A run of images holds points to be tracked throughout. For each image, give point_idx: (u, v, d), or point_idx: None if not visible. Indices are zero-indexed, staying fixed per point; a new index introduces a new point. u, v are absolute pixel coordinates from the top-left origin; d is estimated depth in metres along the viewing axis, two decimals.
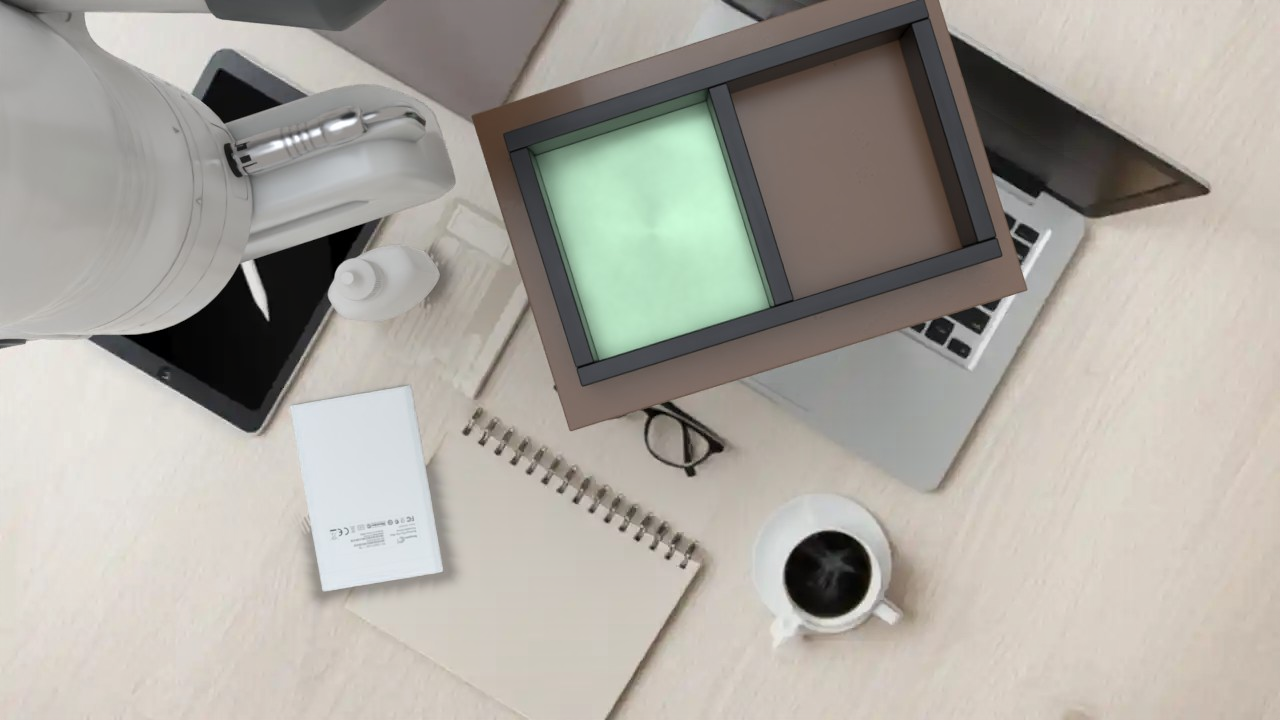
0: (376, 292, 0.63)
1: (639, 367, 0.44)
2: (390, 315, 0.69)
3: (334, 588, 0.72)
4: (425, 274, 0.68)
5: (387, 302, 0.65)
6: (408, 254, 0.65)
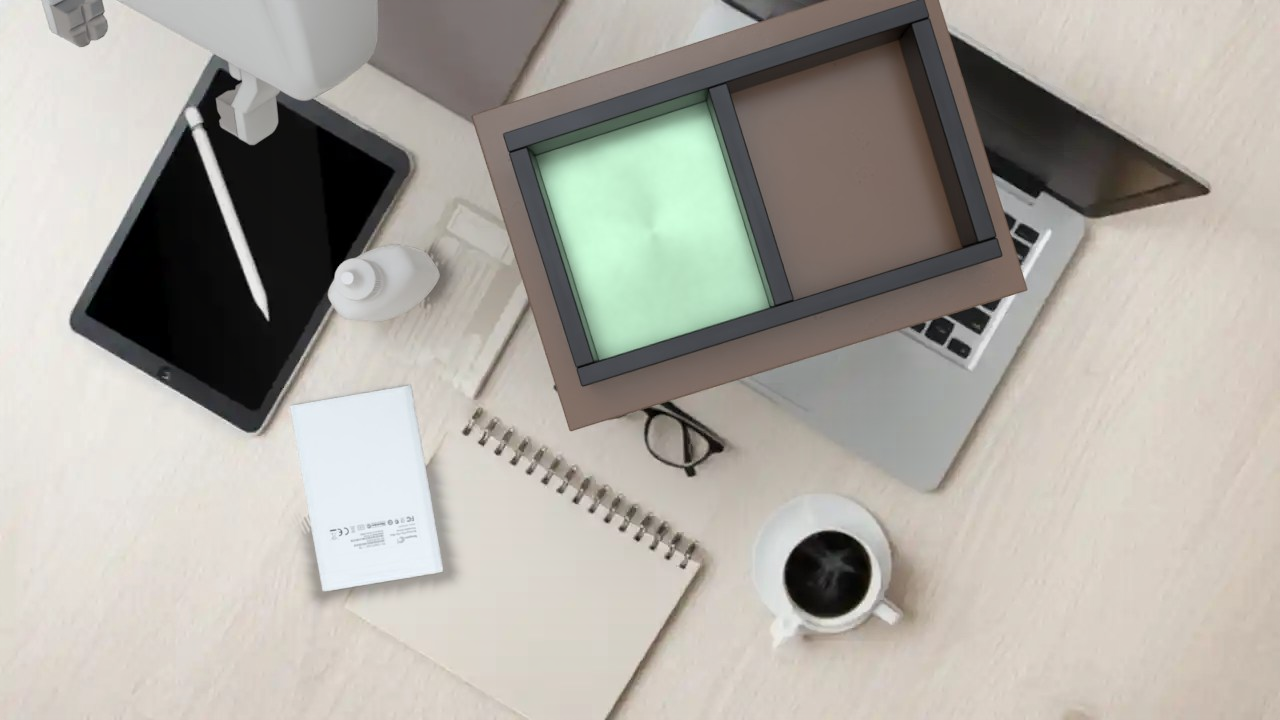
0: (376, 292, 0.63)
1: (639, 367, 0.44)
2: (390, 315, 0.69)
3: (334, 588, 0.72)
4: (425, 274, 0.68)
5: (387, 302, 0.65)
6: (408, 254, 0.65)
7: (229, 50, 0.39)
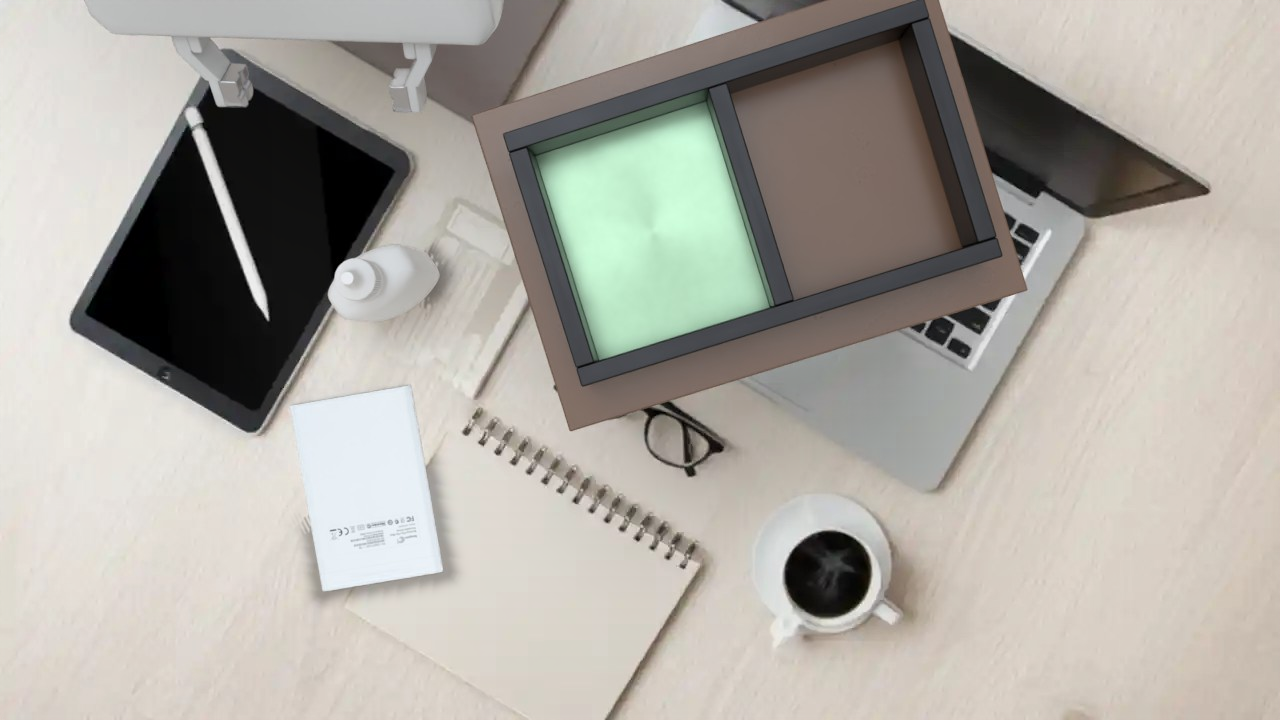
0: (376, 292, 0.63)
1: (639, 367, 0.44)
2: (390, 315, 0.69)
3: (334, 588, 0.72)
4: (425, 274, 0.68)
5: (387, 302, 0.65)
6: (408, 254, 0.65)
7: (416, 31, 0.53)
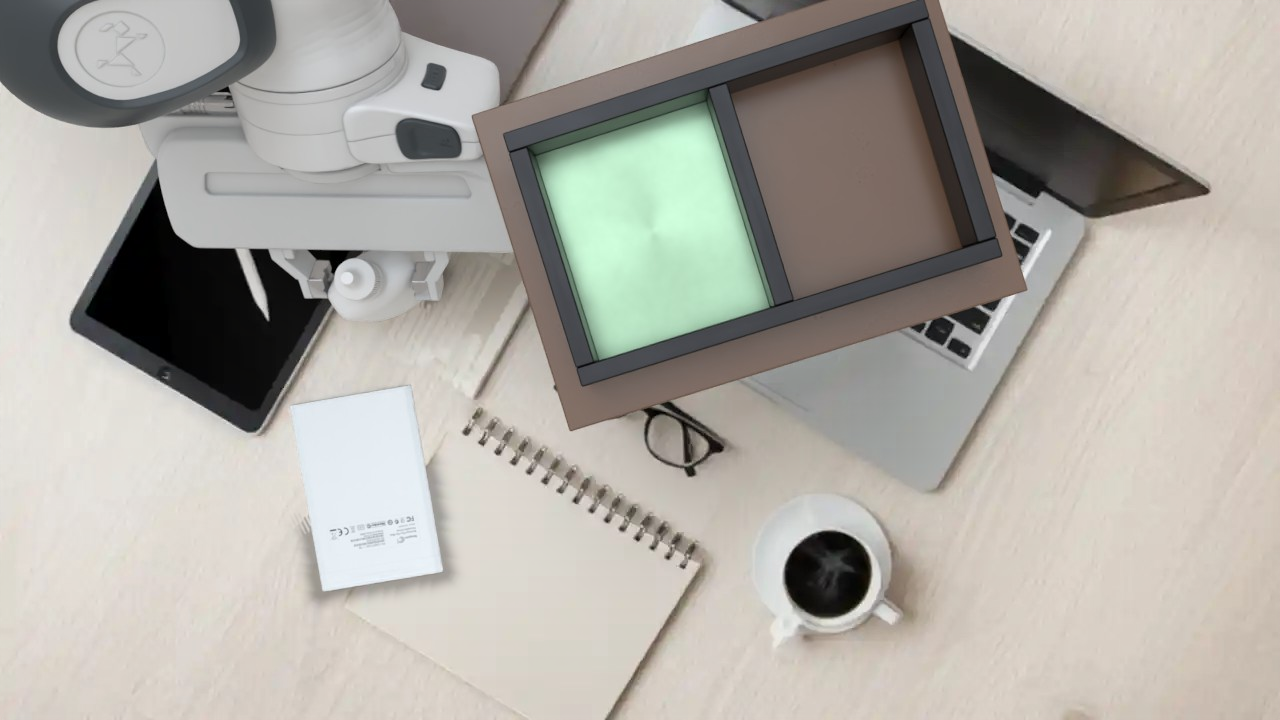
0: (376, 292, 0.63)
1: (639, 367, 0.44)
2: (390, 315, 0.69)
3: (334, 588, 0.72)
4: None
5: (387, 302, 0.65)
6: (408, 254, 0.65)
7: (460, 243, 0.61)
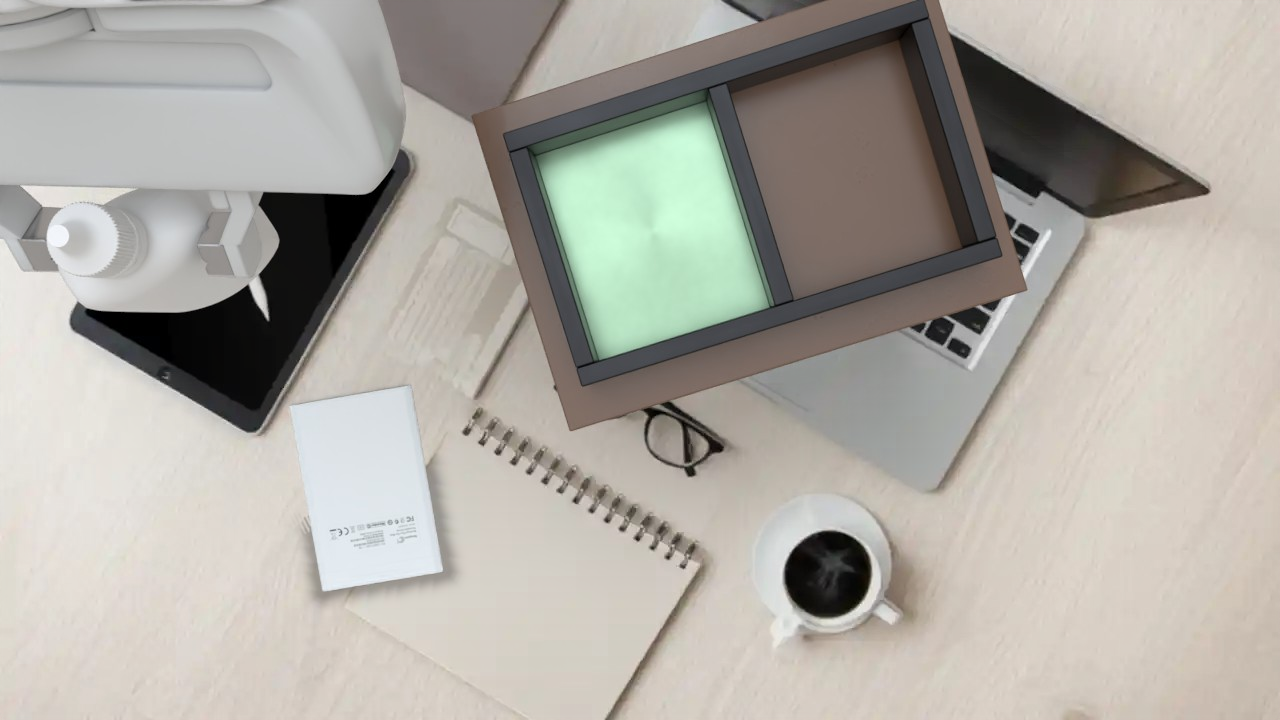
0: (127, 263, 0.36)
1: (639, 367, 0.44)
2: (185, 302, 0.43)
3: (334, 588, 0.72)
4: None
5: (157, 280, 0.38)
6: (195, 200, 0.39)
7: (265, 176, 0.34)
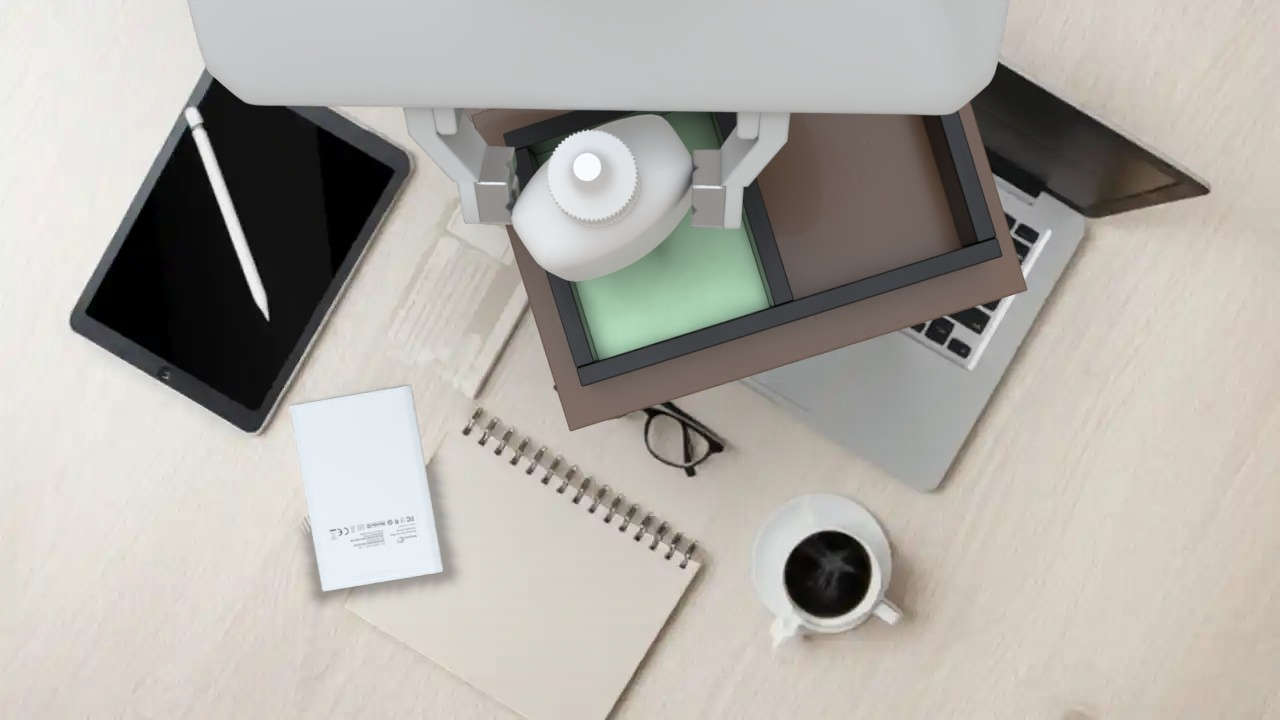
0: (629, 206, 0.30)
1: (639, 367, 0.44)
2: (611, 266, 0.36)
3: (334, 588, 0.72)
4: None
5: (636, 232, 0.32)
6: None
7: (838, 91, 0.28)
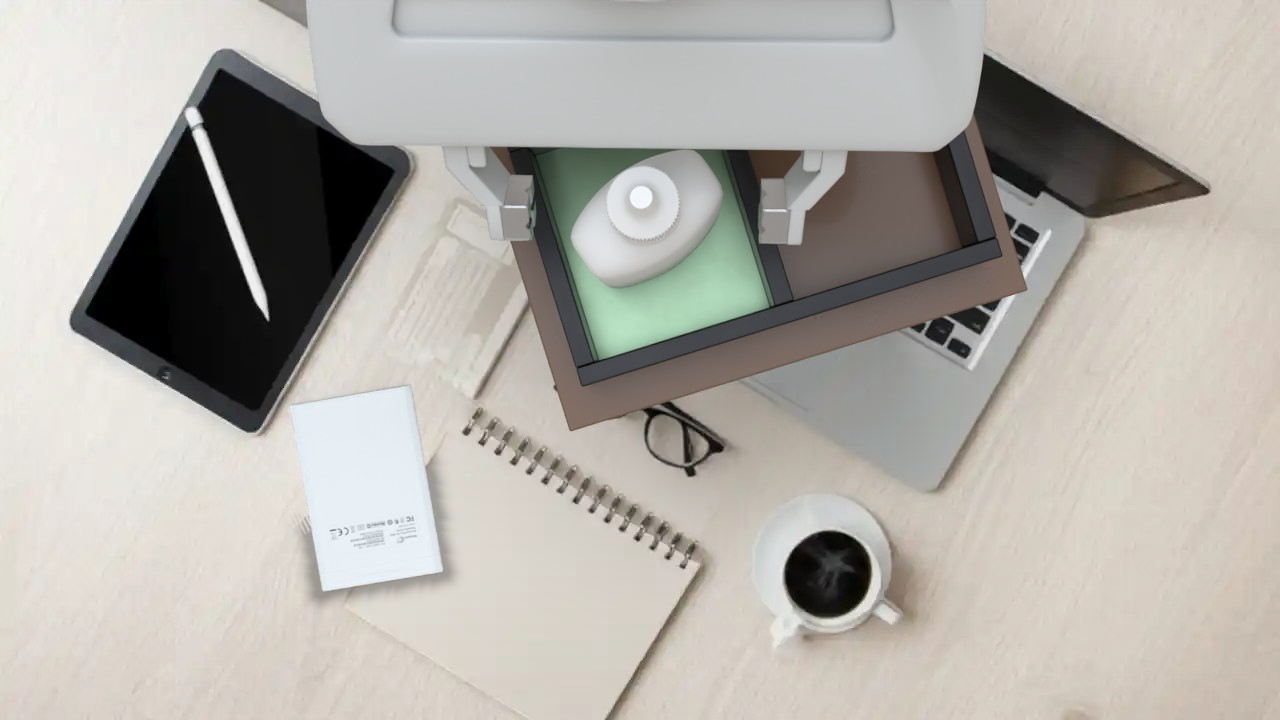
0: (672, 227, 0.36)
1: (639, 367, 0.44)
2: (650, 275, 0.43)
3: (334, 588, 0.72)
4: None
5: (676, 247, 0.38)
6: None
7: (843, 133, 0.34)
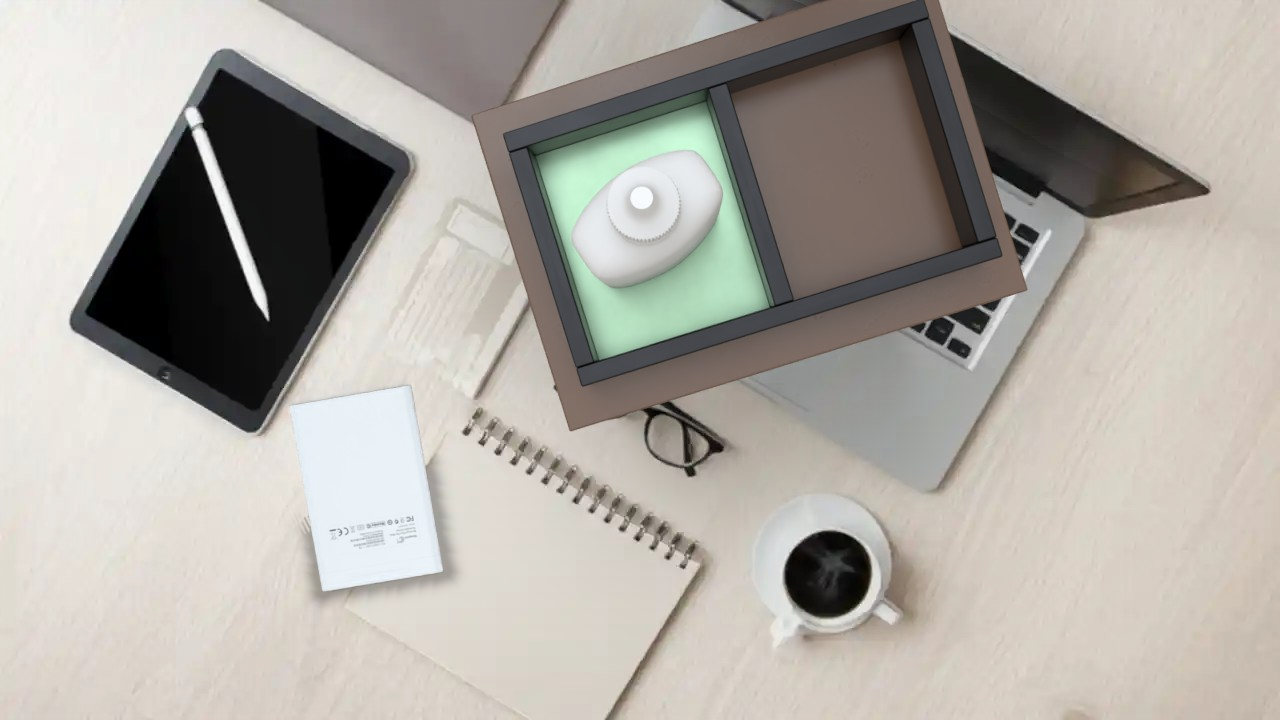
0: (673, 227, 0.36)
1: (639, 367, 0.44)
2: (650, 275, 0.43)
3: (334, 588, 0.72)
4: None
5: (676, 247, 0.38)
6: None
7: None
